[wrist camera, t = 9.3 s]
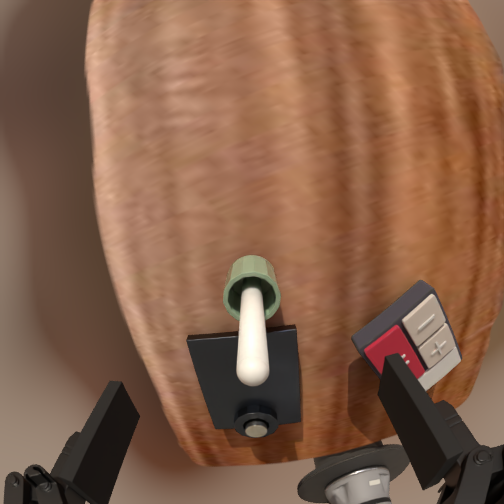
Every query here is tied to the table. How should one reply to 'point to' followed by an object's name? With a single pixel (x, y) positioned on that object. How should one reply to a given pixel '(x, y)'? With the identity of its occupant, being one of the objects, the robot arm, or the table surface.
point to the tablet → (239, 394)
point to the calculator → (412, 336)
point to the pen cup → (249, 268)
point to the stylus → (252, 335)
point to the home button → (256, 427)
